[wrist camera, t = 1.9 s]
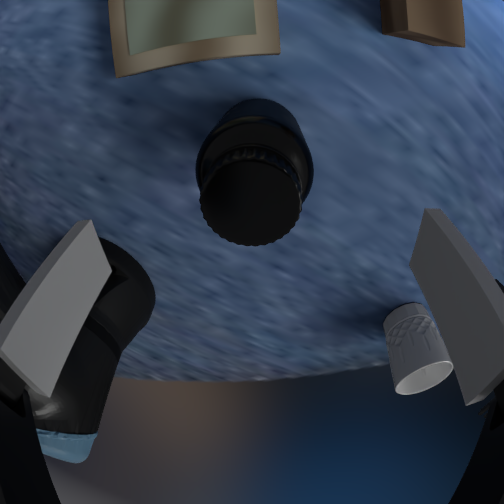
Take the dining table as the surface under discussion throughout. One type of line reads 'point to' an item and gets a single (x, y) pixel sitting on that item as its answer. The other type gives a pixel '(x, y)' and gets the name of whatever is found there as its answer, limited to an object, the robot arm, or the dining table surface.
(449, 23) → the walnut cube
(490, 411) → the robot arm
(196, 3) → the plinth
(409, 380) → the white cup
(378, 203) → the dining table surface
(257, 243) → the supplement bottle
